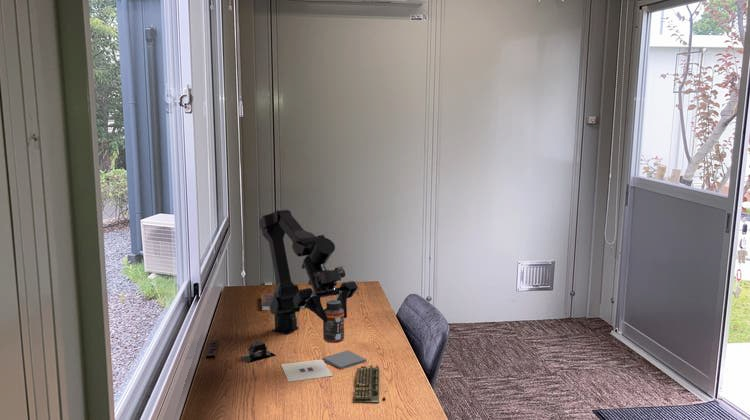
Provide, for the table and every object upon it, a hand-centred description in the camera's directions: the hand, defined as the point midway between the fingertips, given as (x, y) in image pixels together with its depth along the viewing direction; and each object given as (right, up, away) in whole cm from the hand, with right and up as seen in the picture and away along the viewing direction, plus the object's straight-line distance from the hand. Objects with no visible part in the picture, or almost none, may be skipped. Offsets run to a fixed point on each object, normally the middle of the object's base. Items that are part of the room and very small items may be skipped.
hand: (336, 319), depth 171 cm
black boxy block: (-24, -13, +8) cm, 28 cm away
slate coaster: (+2, -13, +5) cm, 14 cm away
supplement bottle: (-1, -6, +2) cm, 7 cm away
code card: (-8, -14, -2) cm, 16 cm away
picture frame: (-21, -5, +62) cm, 66 cm away
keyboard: (+10, -16, -11) cm, 22 cm away
